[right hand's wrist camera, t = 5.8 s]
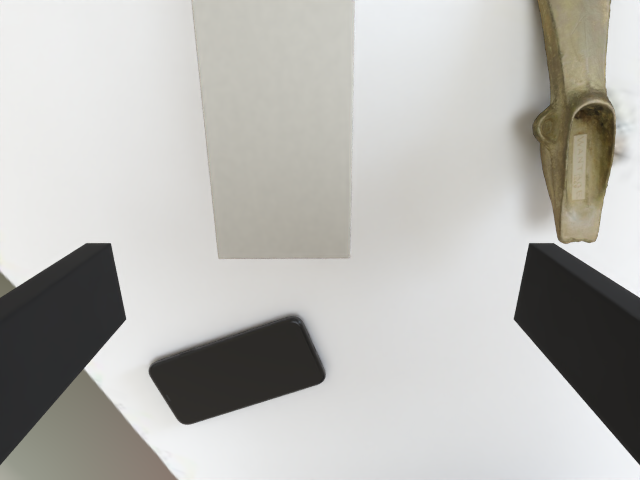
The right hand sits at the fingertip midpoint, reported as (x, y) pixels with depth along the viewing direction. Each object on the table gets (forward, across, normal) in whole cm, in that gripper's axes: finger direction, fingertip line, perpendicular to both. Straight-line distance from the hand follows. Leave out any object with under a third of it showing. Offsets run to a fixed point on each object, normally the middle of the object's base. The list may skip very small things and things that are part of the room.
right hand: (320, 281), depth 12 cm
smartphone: (+20, +8, +20) cm, 29 cm away
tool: (+20, -19, -6) cm, 28 cm away
